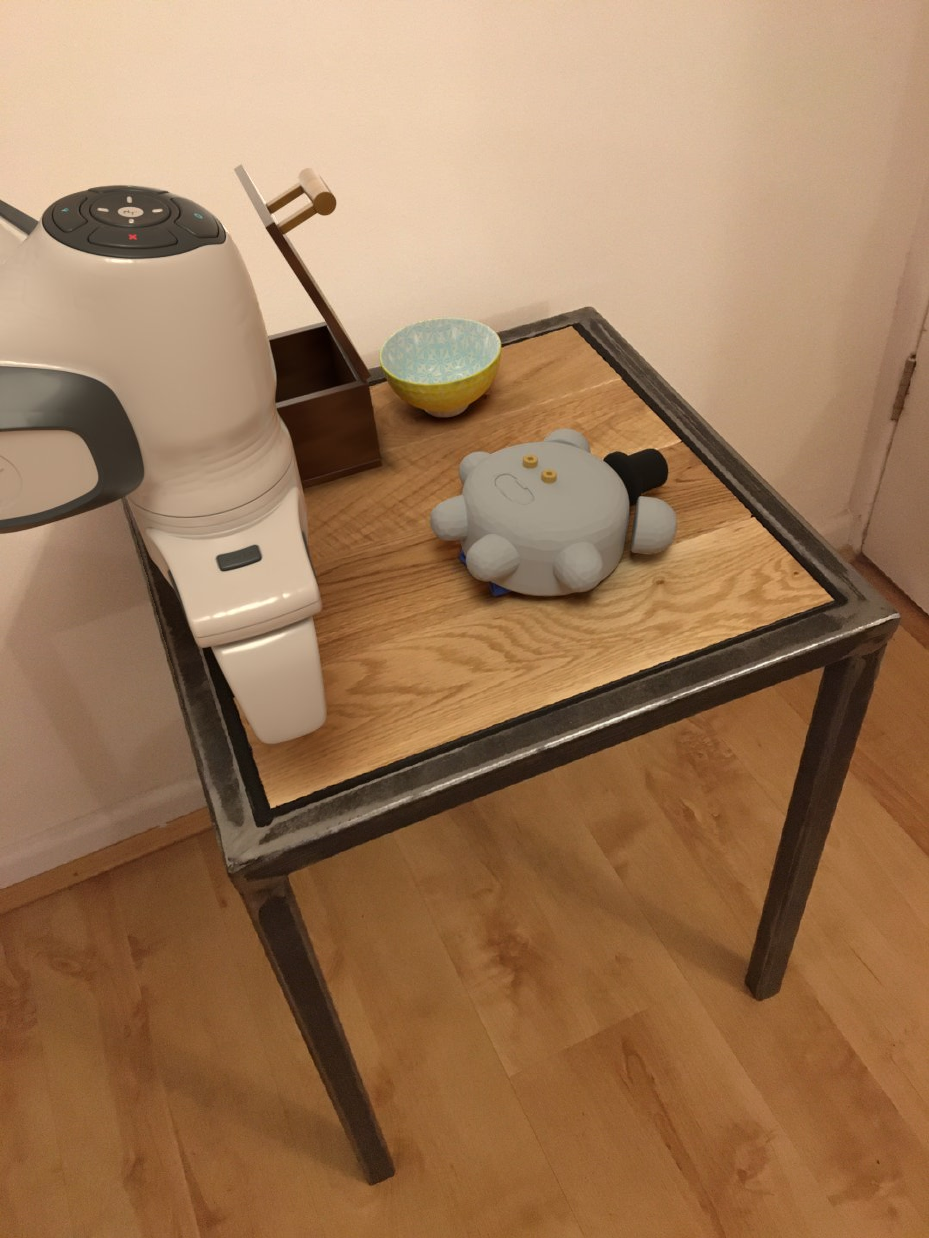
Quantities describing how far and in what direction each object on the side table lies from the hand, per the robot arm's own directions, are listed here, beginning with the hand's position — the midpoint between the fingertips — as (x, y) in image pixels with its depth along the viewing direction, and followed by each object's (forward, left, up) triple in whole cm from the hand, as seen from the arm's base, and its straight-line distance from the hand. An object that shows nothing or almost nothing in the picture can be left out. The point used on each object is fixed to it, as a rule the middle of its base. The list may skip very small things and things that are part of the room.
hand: (272, 669), depth 61 cm
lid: (-19, +29, +9) cm, 36 cm away
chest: (-21, +26, -8) cm, 34 cm away
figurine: (+7, +27, -8) cm, 29 cm away
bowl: (-12, +39, -8) cm, 41 cm away
